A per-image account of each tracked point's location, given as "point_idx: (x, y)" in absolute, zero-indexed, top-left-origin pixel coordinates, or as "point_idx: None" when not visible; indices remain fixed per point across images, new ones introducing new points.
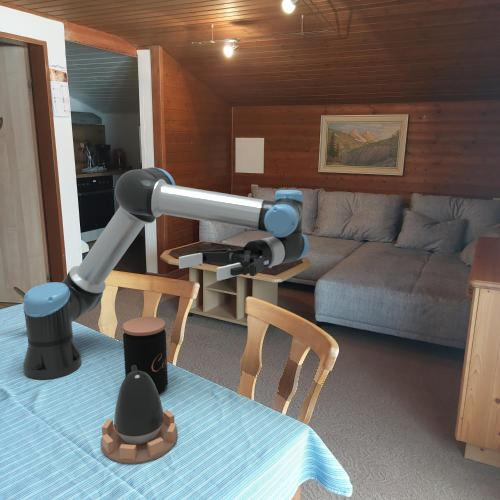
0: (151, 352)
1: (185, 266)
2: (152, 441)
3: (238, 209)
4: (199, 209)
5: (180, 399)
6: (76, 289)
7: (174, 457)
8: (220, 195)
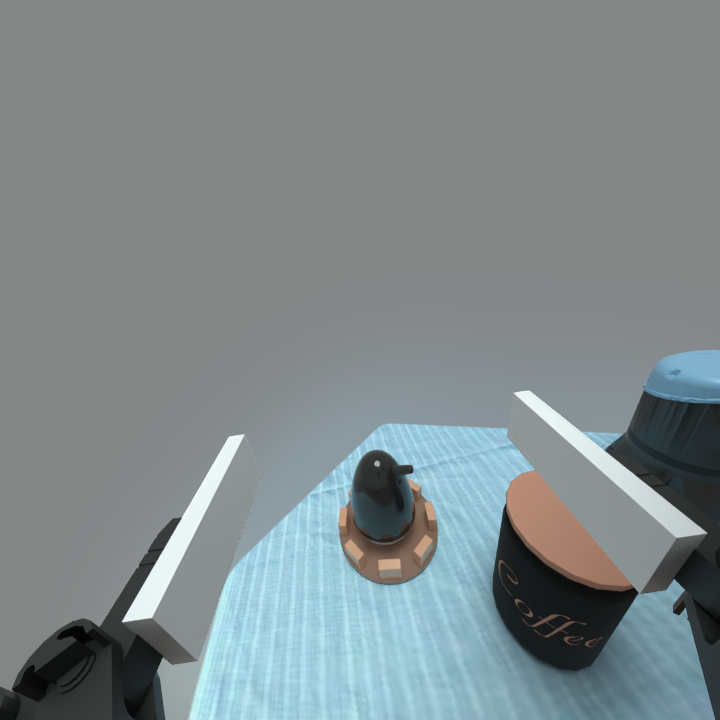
0: (502, 543)
1: (525, 451)
2: (345, 513)
3: None
4: None
5: (470, 659)
6: None
7: (328, 547)
8: None
